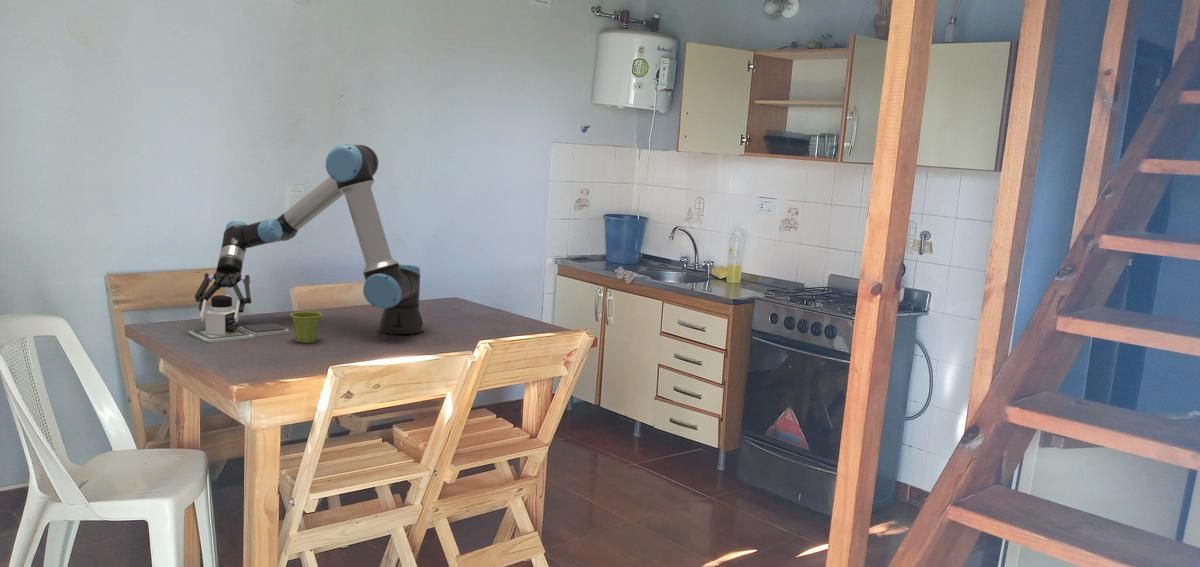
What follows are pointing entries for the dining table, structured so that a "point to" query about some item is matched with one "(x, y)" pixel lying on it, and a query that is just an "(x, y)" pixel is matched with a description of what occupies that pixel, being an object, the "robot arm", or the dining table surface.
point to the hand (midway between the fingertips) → (219, 319)
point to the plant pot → (306, 326)
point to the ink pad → (264, 329)
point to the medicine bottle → (221, 316)
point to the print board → (220, 336)
